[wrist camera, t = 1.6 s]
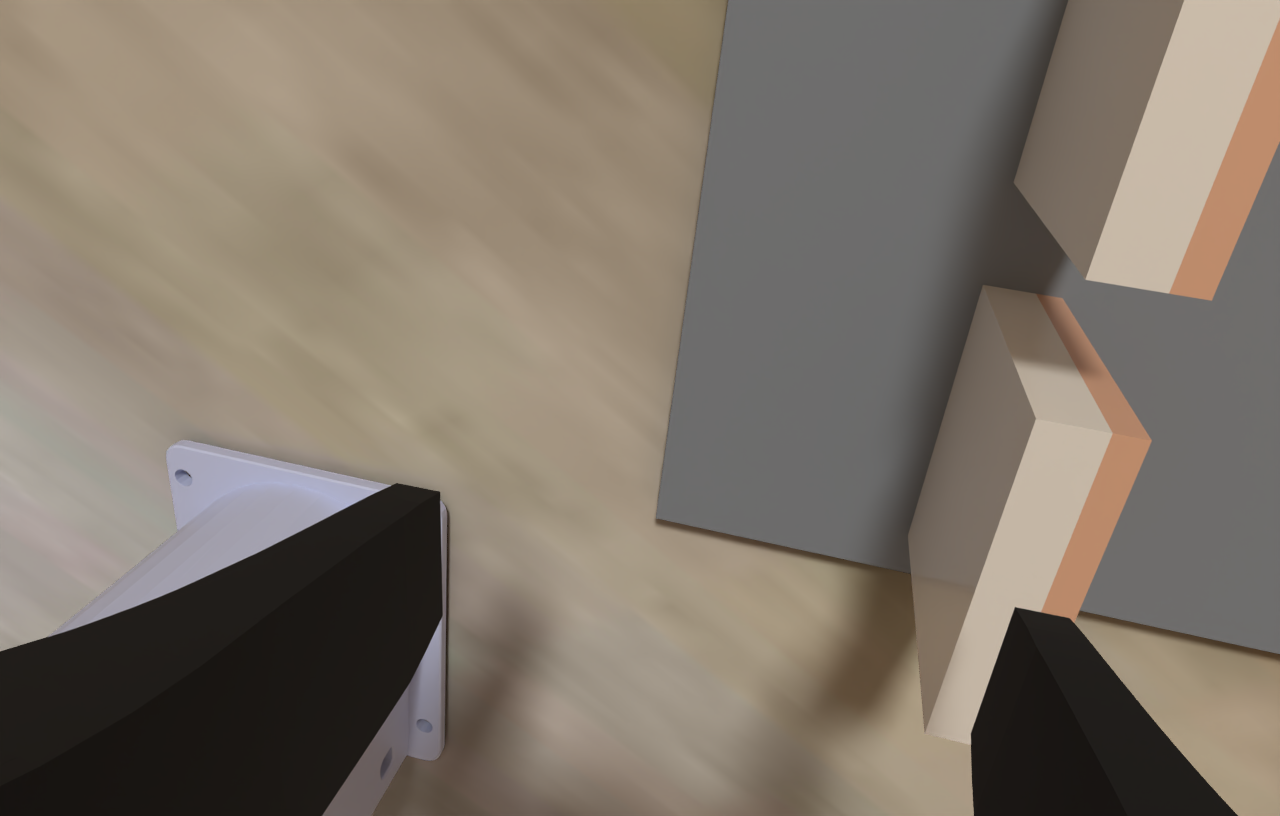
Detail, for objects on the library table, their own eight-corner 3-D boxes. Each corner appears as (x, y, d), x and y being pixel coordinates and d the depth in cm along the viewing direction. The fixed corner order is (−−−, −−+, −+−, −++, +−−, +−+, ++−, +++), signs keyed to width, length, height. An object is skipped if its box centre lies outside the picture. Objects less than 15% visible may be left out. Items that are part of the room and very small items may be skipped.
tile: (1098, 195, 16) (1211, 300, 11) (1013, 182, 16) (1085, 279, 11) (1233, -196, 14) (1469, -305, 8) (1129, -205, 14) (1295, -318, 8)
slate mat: (1317, 646, 20) (1329, 665, 19) (660, 505, 22) (656, 518, 21) (1836, -221, 12) (1880, -230, 12) (775, -304, 15) (772, -314, 14)
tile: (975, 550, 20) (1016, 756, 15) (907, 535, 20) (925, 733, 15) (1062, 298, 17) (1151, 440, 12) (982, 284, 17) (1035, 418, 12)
